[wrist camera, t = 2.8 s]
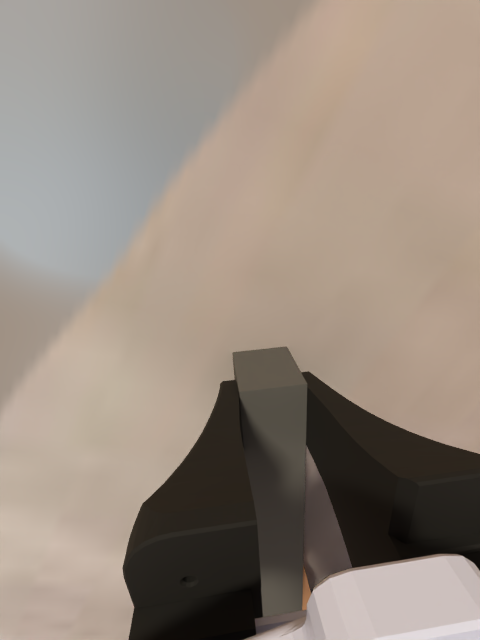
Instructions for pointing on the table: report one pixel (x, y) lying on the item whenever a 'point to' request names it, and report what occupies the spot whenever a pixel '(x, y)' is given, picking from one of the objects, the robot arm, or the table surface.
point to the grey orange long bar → (276, 470)
